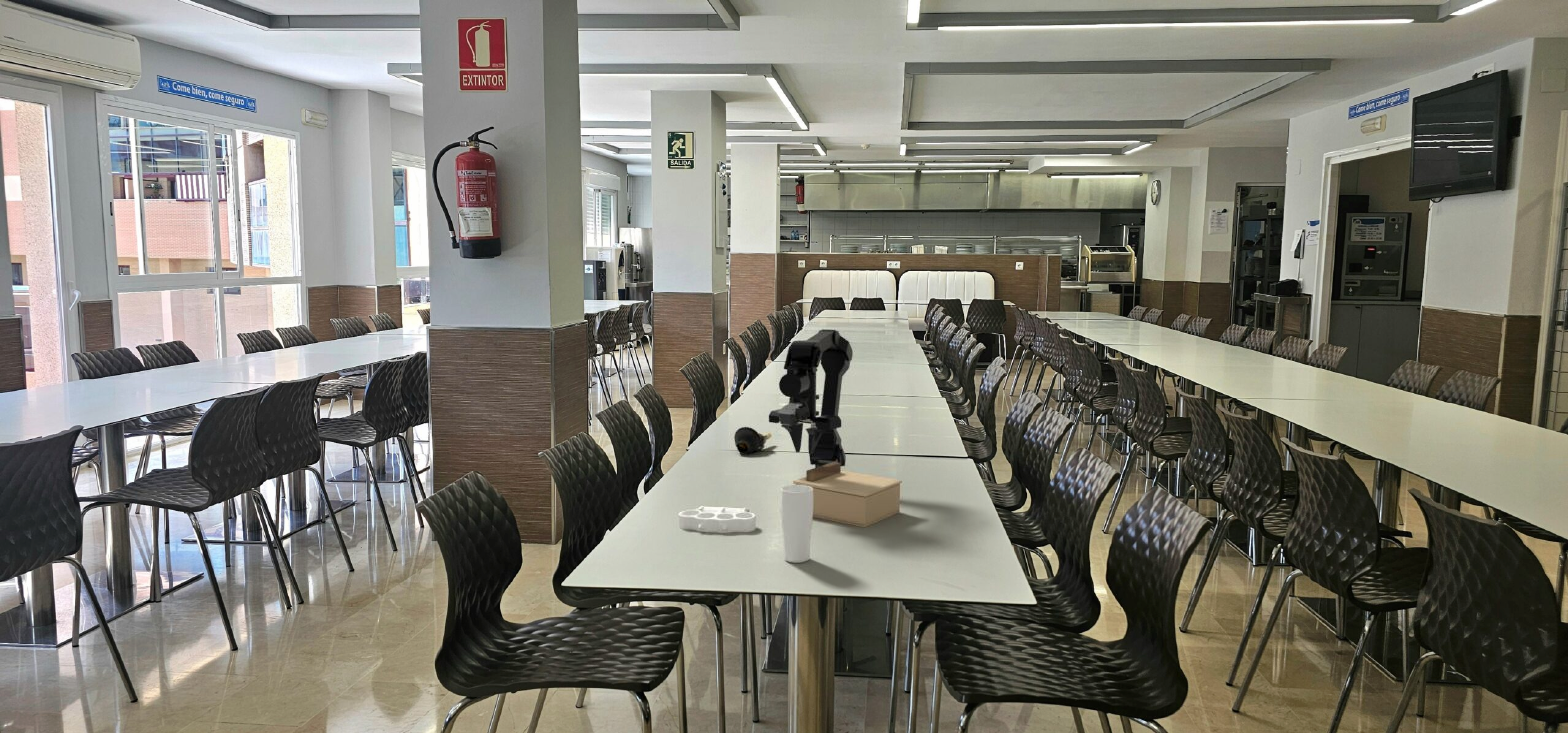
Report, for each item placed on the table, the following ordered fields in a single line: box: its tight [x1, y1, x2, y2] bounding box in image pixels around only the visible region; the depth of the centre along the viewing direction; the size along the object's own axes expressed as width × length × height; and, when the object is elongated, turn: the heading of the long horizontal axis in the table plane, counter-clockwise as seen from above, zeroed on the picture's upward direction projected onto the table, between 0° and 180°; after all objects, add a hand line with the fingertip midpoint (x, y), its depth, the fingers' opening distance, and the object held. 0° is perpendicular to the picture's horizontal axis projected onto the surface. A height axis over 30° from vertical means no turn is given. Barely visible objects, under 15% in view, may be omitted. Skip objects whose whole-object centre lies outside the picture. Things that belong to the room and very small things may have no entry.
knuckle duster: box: [678, 505, 757, 534], centre depth 216 cm, size 3×18×15 cm
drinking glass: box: [780, 484, 814, 564], centre depth 190 cm, size 7×7×15 cm
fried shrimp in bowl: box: [734, 426, 772, 455], centre depth 298 cm, size 9×11×18 cm
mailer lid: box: [792, 462, 903, 497], centre depth 225 cm, size 21×17×3 cm
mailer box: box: [794, 483, 901, 528], centre depth 226 cm, size 20×16×7 cm
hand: (804, 453), depth 233 cm, fingers open, 4 cm apart
